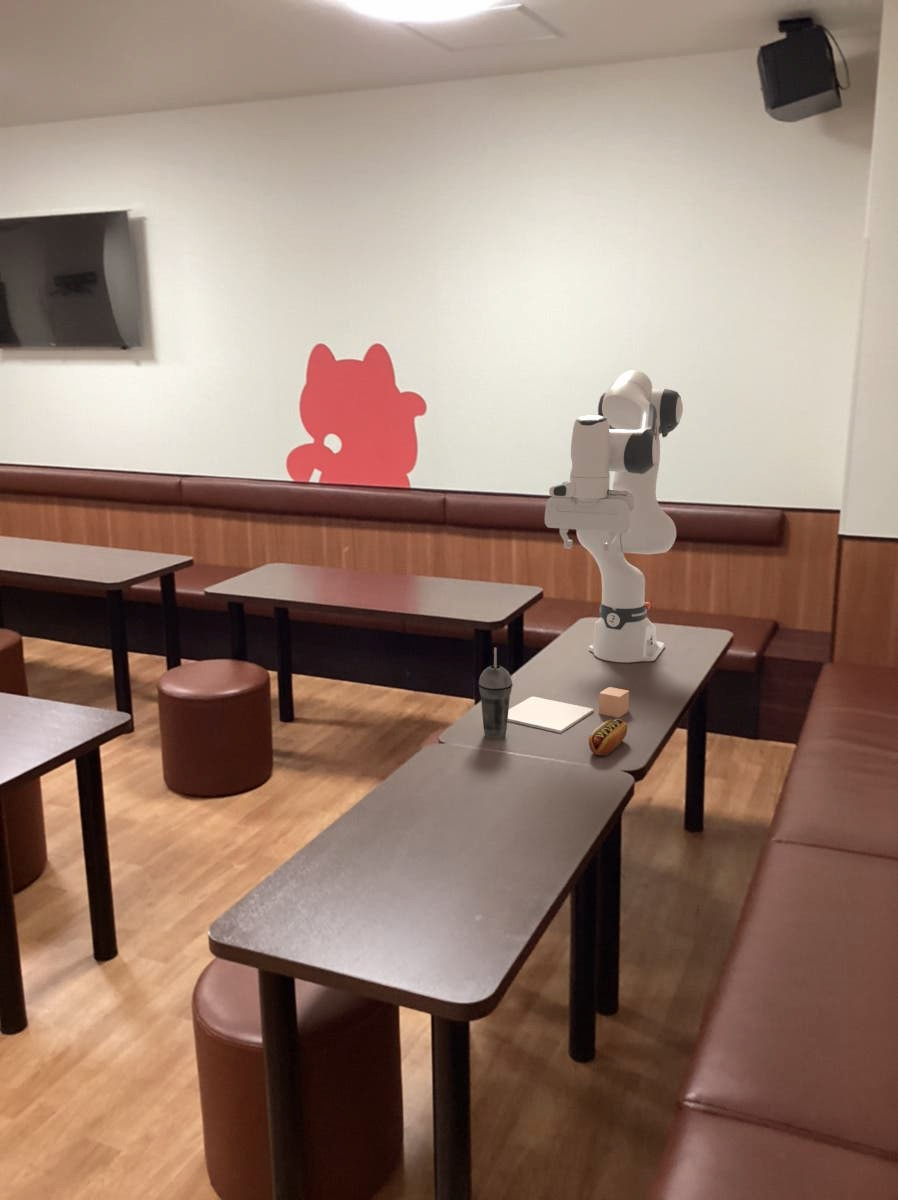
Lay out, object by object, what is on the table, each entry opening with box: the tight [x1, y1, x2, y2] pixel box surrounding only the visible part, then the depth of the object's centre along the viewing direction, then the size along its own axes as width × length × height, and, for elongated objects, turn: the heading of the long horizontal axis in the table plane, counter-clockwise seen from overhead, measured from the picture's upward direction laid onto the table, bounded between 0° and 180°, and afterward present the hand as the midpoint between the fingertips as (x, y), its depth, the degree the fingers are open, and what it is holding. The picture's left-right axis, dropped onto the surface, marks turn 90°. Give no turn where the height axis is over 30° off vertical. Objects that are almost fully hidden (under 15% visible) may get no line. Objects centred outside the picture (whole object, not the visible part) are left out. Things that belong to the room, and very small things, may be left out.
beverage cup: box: [477, 647, 514, 741], centre depth 221 cm, size 7×7×20 cm
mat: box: [507, 695, 595, 734], centre depth 235 cm, size 16×16×1 cm
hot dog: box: [588, 717, 629, 756], centre depth 216 cm, size 5×13×5 cm, turn 149°
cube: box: [598, 686, 630, 718], centre depth 236 cm, size 5×5×5 cm
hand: (587, 549), depth 238 cm, fingers open, 8 cm apart
